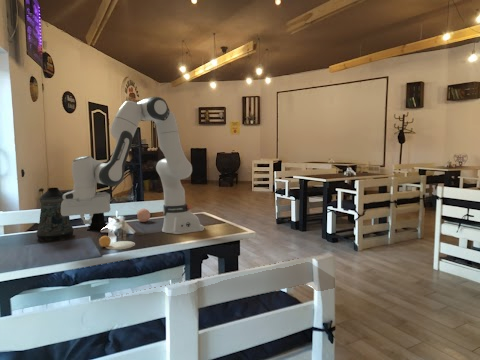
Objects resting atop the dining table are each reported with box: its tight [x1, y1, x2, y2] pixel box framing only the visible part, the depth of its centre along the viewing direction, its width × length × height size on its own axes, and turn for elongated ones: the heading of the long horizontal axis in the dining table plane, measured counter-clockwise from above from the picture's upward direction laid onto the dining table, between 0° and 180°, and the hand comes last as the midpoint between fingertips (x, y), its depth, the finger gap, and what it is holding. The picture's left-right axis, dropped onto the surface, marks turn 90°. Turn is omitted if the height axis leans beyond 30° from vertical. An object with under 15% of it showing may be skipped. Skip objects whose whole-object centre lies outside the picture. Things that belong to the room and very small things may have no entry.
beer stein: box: [36, 187, 74, 243], centre depth 176 cm, size 16×19×25 cm
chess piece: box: [86, 213, 108, 232], centre depth 192 cm, size 8×8×20 cm
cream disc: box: [105, 240, 136, 251], centre depth 161 cm, size 13×13×1 cm
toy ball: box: [136, 208, 151, 223], centre depth 210 cm, size 8×8×8 cm
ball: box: [98, 235, 112, 248], centre depth 159 cm, size 5×5×5 cm
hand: (87, 223), depth 156 cm, fingers closed
